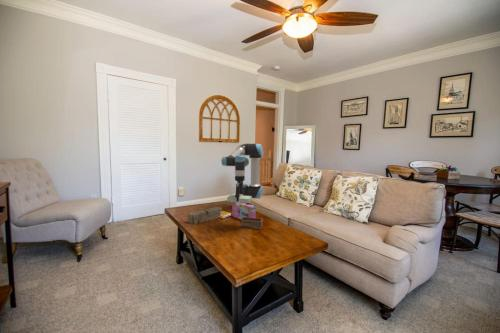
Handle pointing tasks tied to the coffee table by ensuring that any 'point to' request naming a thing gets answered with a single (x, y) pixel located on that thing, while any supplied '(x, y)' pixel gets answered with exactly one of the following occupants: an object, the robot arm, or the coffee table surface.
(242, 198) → the lid
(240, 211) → the gum box
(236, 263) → the coffee table surface
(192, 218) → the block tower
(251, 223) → the crate
